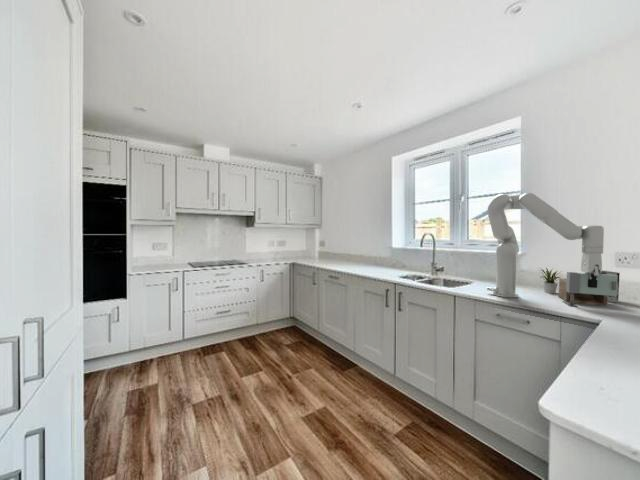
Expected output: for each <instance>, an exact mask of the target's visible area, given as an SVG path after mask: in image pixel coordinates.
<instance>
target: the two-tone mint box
mask: <svg viewBox="0 0 640 480" xmlns="http://www.w3.org/2000/svg"><path fill="white" fill-rule="evenodd" d="M566 279H567V284H566V291H567V292H569V293H584V294H596V295H608V296H617V279H618V276H617V275H606V274H599V276H598V280H597V288H590V287H588V279H589V274H588V273H585V272H575V271H574V272H573V271H572V272H571V271H569V272H568V271H567V272H566Z"/></svg>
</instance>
